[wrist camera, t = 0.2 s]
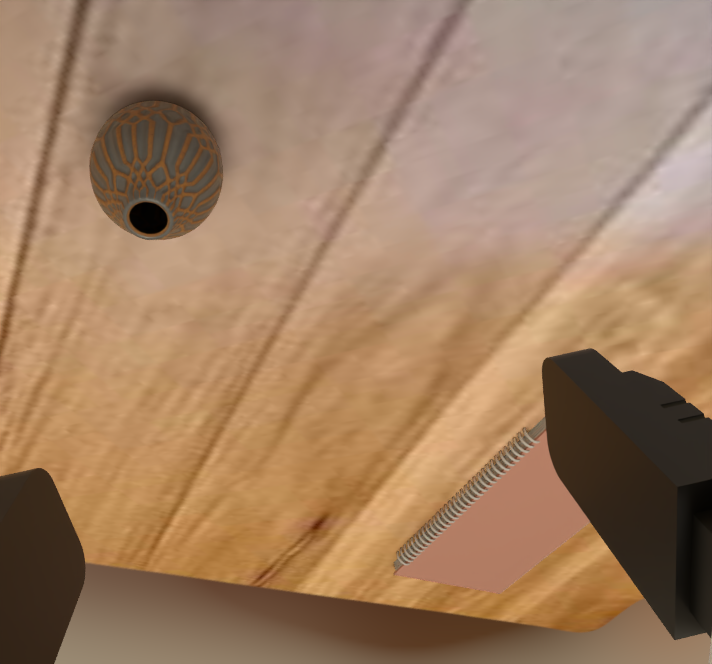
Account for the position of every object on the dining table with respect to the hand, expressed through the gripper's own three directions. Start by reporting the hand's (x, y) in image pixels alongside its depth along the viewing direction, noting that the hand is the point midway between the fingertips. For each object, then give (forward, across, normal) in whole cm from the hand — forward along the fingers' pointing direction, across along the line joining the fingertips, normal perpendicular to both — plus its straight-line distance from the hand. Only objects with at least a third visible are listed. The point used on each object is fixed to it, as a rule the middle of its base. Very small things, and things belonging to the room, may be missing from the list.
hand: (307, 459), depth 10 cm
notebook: (+46, -16, +41) cm, 64 cm away
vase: (+32, +6, -3) cm, 32 cm away
